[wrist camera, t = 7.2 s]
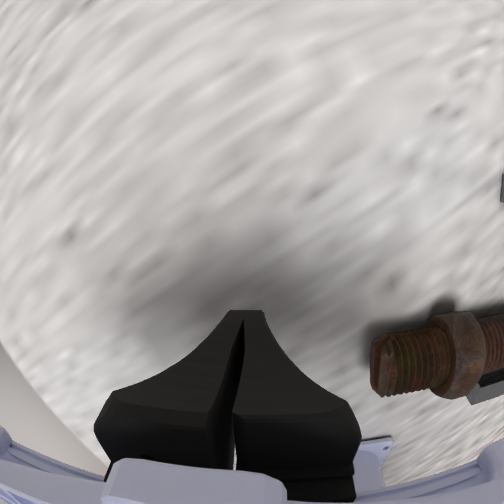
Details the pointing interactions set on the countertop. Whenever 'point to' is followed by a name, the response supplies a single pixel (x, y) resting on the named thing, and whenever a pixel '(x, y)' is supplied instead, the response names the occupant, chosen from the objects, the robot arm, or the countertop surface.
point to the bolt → (438, 356)
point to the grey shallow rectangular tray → (493, 381)
